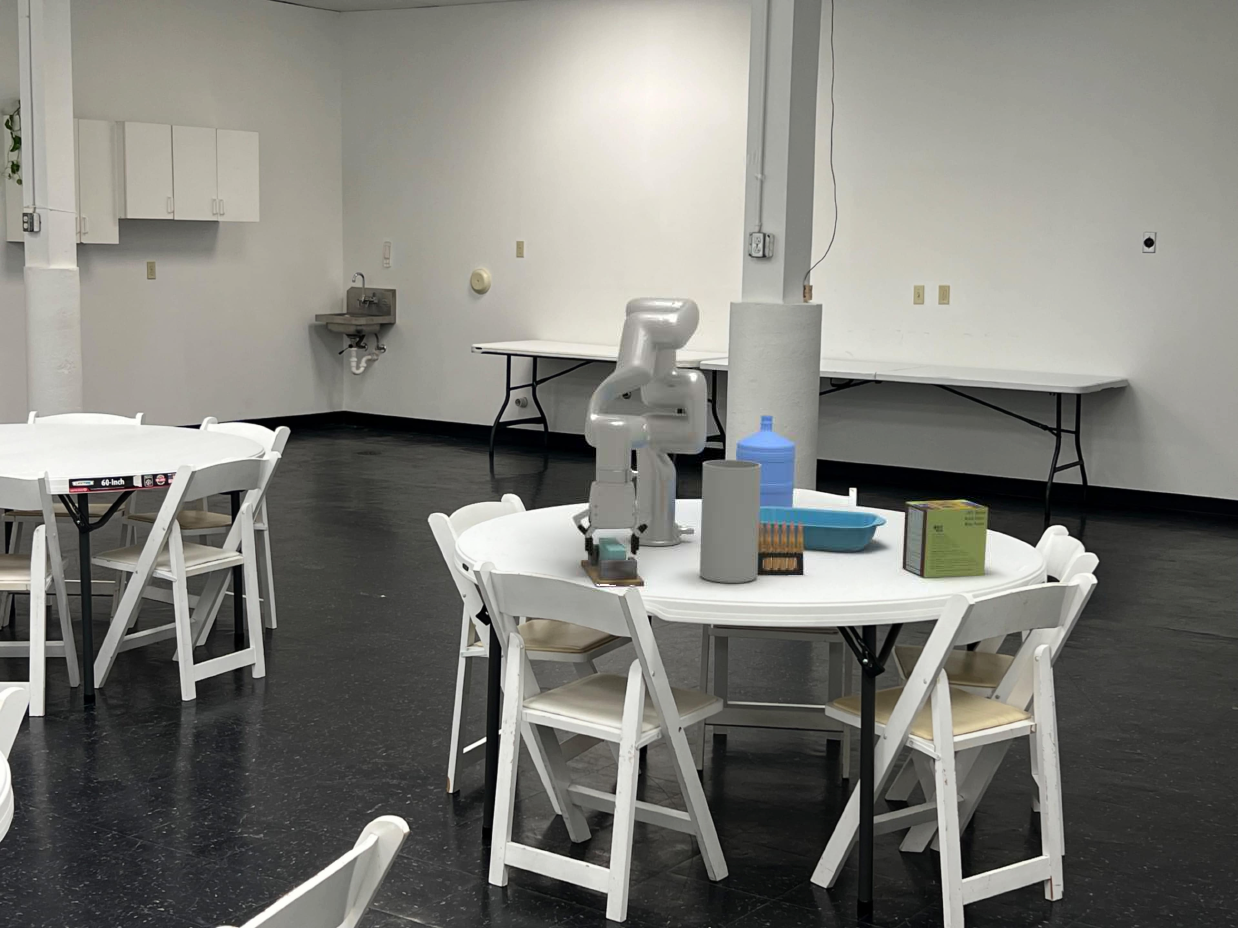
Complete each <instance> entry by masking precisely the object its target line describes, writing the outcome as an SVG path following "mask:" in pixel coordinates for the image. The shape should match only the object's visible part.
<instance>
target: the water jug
mask: <svg viewBox="0 0 1238 928" xmlns="http://www.w3.org/2000/svg"><path fill="white" fill-rule="evenodd" d="M760 418H761V419H760V420H761V421H760V430H759V431H757V432H755V433H753V434H751V435H749V436H747V437H745V438H742V439H740V440H738V441H737V442H736V449H735V458H736V459H735V460H741V461H750V462H756V463H759V464H761V485H760V507H765V506H774V507H793V508H794V506H793V505H794V491H795V490H794V489H795V479H794V478H795V477H794V476H795V460H796V450H795V449H796V445H795V443H794V442H793V441H791V440H789V439H787V438H785V437H783V436H781V435H780V434H777V433H776V432H775V431H773V424H774V423H773V418H774V416H773V415H767V414H766V415H760Z"/></svg>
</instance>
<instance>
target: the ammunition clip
mask: <svg viewBox="0 0 1238 928" xmlns="http://www.w3.org/2000/svg"><path fill="white" fill-rule="evenodd" d="M779 545H780V547H779ZM804 571H805V570H804V549H803V527H802V522H801V521H800V522H799V525H798V532H797V539H796V548H795V527H794V522H793V521H792V522H791V525H790V531H789V539H788V548H787V527H786V523H785V521H784V522H783V525H782V531H781V539H780V540H779V526H778V522H777V521H776V522H775V525H774V534H773V540H772V539H771V525H770V522H769V521H768V523H767V526H766V534H765V540H764V538H763V524H762V521H760V523H759V543H758V573H757V576H788V575H803V576H804V575H805V574H804V573H805V572H804Z"/></svg>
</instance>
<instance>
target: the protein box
mask: <svg viewBox="0 0 1238 928" xmlns="http://www.w3.org/2000/svg"><path fill="white" fill-rule="evenodd" d="M904 506H905V507H904V523H903V524H904V526H903V529H904V530H903V546H902V547H903V548H902V549H903V551H902V570H905V571H907V572H910V573H912V574H914V575H916V576H918V577H920V578H923V579H930V578H932V579H933V578H953V577H954V578H955V577H956V578H957V577H972V576H973V577H975V576H976V577H977V576H984V575H985V570H986V569H985V567H986V553H987V552H986V548H987V547H986V546H987V534H988V533H987V530H988V517H989V515H988V513H989V507H988V506H986V505H985V506H984V505H981V504H978V503H975V502H973V501H969V500H966V499H956V500H955V499H954V500H948V499H947V500H926V501H922V500H921V501H905V505H904Z"/></svg>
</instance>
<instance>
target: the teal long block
mask: <svg viewBox="0 0 1238 928" xmlns="http://www.w3.org/2000/svg"><path fill="white" fill-rule="evenodd" d="M598 544H599V555H598V558H603V557H604V558H605V559H606V560H627V549H626V548H624V547H625V546H624V545H623V544H622V543H621V542H620V541H619V540H618V539H617V538H616V537H613V536H612V537H611V536H610V537H598ZM621 544H622V545H623V546H624V547H623V546H622V545H621Z"/></svg>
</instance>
